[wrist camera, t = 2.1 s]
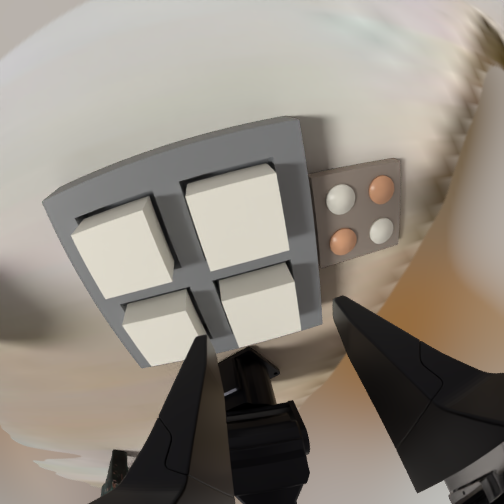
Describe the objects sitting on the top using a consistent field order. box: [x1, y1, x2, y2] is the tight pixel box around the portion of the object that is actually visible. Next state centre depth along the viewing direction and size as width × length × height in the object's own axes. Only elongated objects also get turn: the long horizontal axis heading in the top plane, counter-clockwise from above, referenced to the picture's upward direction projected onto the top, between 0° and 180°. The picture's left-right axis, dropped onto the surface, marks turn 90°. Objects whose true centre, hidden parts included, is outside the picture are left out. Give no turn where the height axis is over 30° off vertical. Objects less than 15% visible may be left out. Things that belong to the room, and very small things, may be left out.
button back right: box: [219, 263, 301, 348], centre depth 21 cm, size 5×5×2 cm
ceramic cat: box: [101, 450, 128, 496], centre depth 36 cm, size 20×6×20 cm, turn 154°
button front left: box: [71, 196, 175, 299], centre depth 17 cm, size 5×5×2 cm
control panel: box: [42, 116, 322, 368], centre depth 21 cm, size 17×17×3 cm
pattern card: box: [308, 158, 401, 268], centre depth 22 cm, size 8×8×1 cm
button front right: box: [185, 163, 289, 271], centre depth 17 cm, size 5×5×2 cm
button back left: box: [122, 289, 207, 366], centre depth 21 cm, size 5×5×2 cm
